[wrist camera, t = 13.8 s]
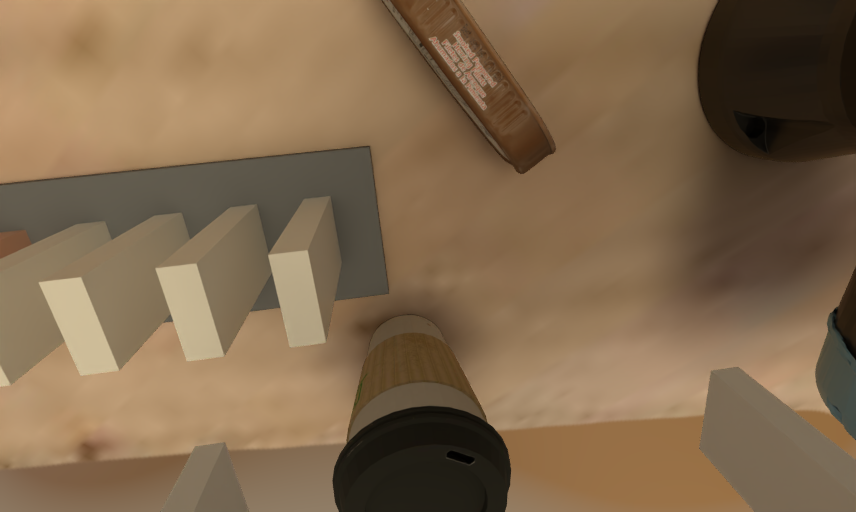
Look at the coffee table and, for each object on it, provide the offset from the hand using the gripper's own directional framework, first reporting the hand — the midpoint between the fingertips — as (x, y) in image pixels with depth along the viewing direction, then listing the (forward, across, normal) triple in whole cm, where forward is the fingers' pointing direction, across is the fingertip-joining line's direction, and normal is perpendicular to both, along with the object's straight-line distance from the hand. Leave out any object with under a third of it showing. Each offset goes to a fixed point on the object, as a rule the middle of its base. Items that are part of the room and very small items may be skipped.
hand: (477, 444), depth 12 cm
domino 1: (+21, +22, 0) cm, 30 cm away
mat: (+22, +16, 0) cm, 27 cm away
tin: (+22, -3, -10) cm, 25 cm away
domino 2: (+21, +17, 0) cm, 27 cm away
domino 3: (+21, +12, 0) cm, 24 cm away
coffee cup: (+22, +2, +11) cm, 25 cm away
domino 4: (+21, +7, 0) cm, 22 cm away
